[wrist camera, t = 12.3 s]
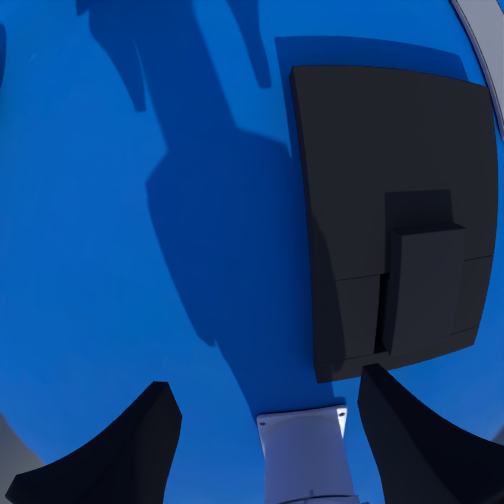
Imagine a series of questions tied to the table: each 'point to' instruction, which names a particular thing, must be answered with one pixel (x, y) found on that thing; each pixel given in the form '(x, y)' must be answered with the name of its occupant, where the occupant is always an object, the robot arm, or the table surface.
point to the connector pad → (420, 287)
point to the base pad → (389, 197)
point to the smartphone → (487, 45)
